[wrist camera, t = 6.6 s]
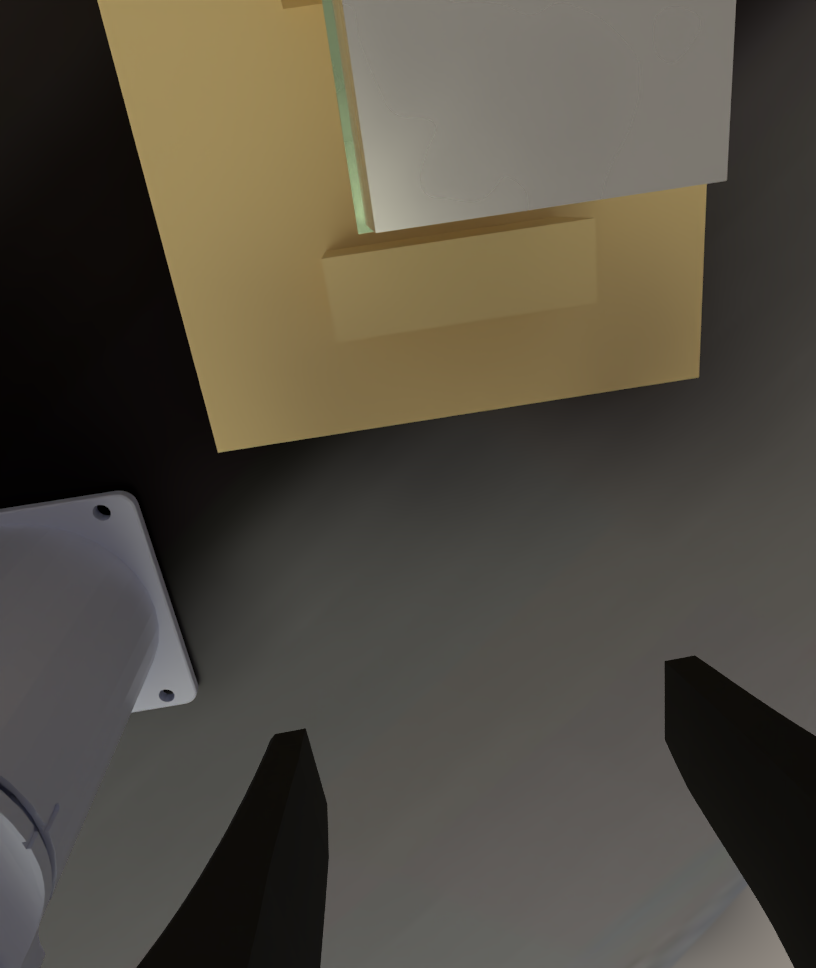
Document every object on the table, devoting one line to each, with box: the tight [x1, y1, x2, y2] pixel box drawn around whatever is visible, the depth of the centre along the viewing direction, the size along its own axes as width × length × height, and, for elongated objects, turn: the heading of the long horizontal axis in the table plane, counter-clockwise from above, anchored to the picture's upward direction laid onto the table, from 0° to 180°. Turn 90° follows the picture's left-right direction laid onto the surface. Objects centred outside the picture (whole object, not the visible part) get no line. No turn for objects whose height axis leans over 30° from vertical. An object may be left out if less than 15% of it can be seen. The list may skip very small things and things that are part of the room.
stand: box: [97, 0, 707, 453], centre depth 15 cm, size 14×15×5 cm
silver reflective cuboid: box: [322, 0, 736, 234], centre depth 10 cm, size 4×4×7 cm
